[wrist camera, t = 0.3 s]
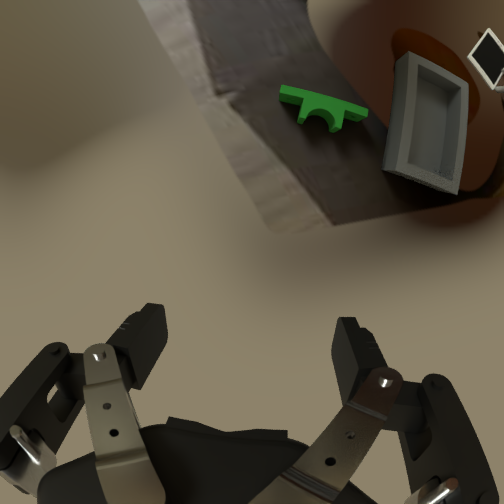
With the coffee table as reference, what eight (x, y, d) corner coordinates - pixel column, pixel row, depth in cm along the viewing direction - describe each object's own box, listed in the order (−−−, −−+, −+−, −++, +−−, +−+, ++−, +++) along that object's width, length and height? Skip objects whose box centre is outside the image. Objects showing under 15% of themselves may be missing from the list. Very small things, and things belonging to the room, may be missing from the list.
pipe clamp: (275, 118, 34) (274, 111, 29) (280, 94, 33) (281, 84, 28) (353, 139, 34) (363, 135, 29) (358, 115, 32) (368, 108, 28)
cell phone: (509, 57, 23) (511, 56, 22) (491, 91, 27) (493, 90, 26) (487, 28, 22) (489, 27, 21) (465, 57, 26) (467, 56, 25)
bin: (395, 61, 29) (408, 51, 24) (451, 89, 29) (468, 83, 24) (381, 169, 34) (395, 170, 30) (439, 190, 34) (457, 194, 29)
